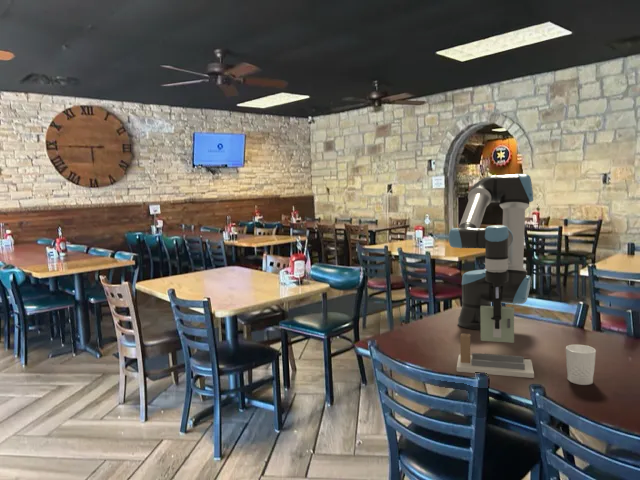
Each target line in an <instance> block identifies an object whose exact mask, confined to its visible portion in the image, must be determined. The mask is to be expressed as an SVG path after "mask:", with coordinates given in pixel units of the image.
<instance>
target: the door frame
mask: <svg viewBox="0 0 640 480" xmlns="http://www.w3.org/2000/svg"><path fill="white" fill-rule="evenodd" d="M459 339H460V341H459V343H460V354H458V358H457V363H456V372H457V373H467V374H468V373H470V374H476V373H475V372H485V373H487V374H486V375H494V376H502V377H504V376H507V377H518V378H528V379H529V378H530V379H532V378H533V379H534V378H535V372H534V368H533V362H532V359H528V358H527V359H525V357H524V356H523V355H522V356H521V355H506V354H496V353H495V354H494V353H480V352H471V333H464V332H463V333H460V338H459ZM471 354H472V355H471Z"/></svg>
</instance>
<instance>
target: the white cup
mask: <svg viewBox="0 0 640 480" xmlns="http://www.w3.org/2000/svg"><path fill="white" fill-rule="evenodd" d="M596 352H597V350H596V349H595V348H594V347H592V346H589V345H584V344H578V343H577V344H569V345H566V346H565V357H566V358H565V359H566V360H565V362H566V371H567V376H566V377H567V380H568V381H569V382H570V383H573V384H576V385H580V386H589V385H592V384H594V383H593V382H594V375H595V374H594V373H595V366H596Z"/></svg>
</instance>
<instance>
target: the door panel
mask: <svg viewBox="0 0 640 480" xmlns="http://www.w3.org/2000/svg"><path fill="white" fill-rule="evenodd" d="M480 315H481V329H480V341H482V342H495V343H497V342H498V343H510V344H511V343H512V344H513V343H515V307H514V306H507V305H506V306H505V305H504V306H503V305H501V338H499V337H493V319H491V317H492V318H493V305H491V306H481V307H480Z"/></svg>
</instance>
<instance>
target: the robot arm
mask: <svg viewBox="0 0 640 480" xmlns="http://www.w3.org/2000/svg"><path fill="white" fill-rule="evenodd" d="M532 182H533V181H532V178H531V176H530V175H529V174H528V173H515V174H513V173H512V174H498V175H497V174H493V175H489V176H486V177H483V178H481V179H479V181H477V182H476V183H475V184H474V185H472V187H471V189H470V190H469V192H468V195H467V199H468V202H467V204H466V206H465V210H464V212H463V215H462V218H461V220H460V223H459V225H458V227H452V228H451V229H449V232H448V243H449V245H450V247H451V248H452V249H453V248H455V249H456V248H458V249H485V253H484V254H485V258H484V264H485V266H484V268H485V269H476V270H475V269H474V270H469V271H466V272H464V273H463V274H462V277H461V305H462V306H461V309H460V313H459V316H458V318H457V325H458V326H459V327H461V328H465V329H469V330H481V315H480V307H481V306H493V318H492V317H491V319H493V337H499V338H501V306H502V303H503V304H513V305H515V304H517V305H519V304H520V305H522V304H525V303H526V302H527V301H528V297H529V294H530V289H531V279H532V277H531V275H528V270H526V268H525V267H524V253H525V251H524V249H525V248H524V247H525V225H526V224H525V223H526V222H525V221H526V210H527V209H528V208H530V203H533V201H534V190H533V183H532ZM491 203H499V207H500V208H501V209H502V225H500V224H497V225H488V226H486V227H485V228H483V227H481V224H482V222H483V218H484V216H485V212H486V209H487V207H488V206H489V205H490V204H491ZM491 303H492V304H491Z"/></svg>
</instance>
